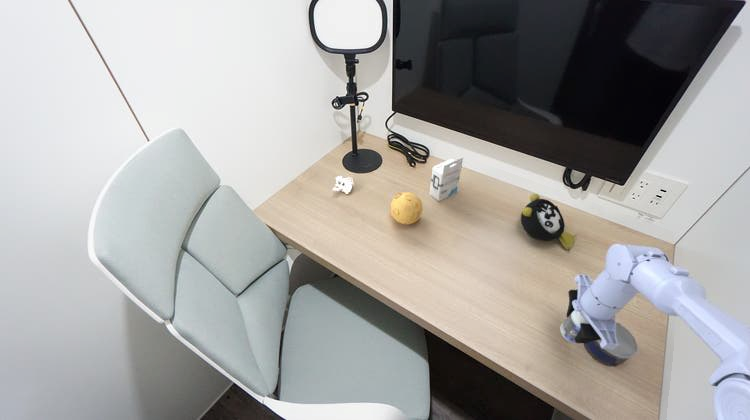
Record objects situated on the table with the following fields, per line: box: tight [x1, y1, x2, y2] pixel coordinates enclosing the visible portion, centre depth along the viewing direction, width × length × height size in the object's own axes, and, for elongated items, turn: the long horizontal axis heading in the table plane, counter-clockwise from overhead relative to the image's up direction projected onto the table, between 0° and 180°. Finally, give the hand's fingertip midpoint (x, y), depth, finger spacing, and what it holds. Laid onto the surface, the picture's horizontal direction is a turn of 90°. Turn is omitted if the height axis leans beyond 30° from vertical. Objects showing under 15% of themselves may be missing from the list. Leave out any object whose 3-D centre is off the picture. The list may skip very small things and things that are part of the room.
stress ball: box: [390, 191, 424, 225], centre depth 96 cm, size 10×10×10 cm
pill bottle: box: [559, 310, 590, 345], centre depth 64 cm, size 5×5×8 cm
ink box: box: [429, 157, 464, 202], centre depth 103 cm, size 8×5×15 cm, turn 124°
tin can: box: [583, 321, 638, 367], centre depth 68 cm, size 8×8×5 cm
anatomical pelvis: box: [332, 175, 354, 195], centre depth 110 cm, size 8×4×7 cm
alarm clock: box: [520, 193, 576, 250], centre depth 90 cm, size 12×15×15 cm
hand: (575, 328), depth 65 cm, fingers closed on pill bottle, 5 cm apart
